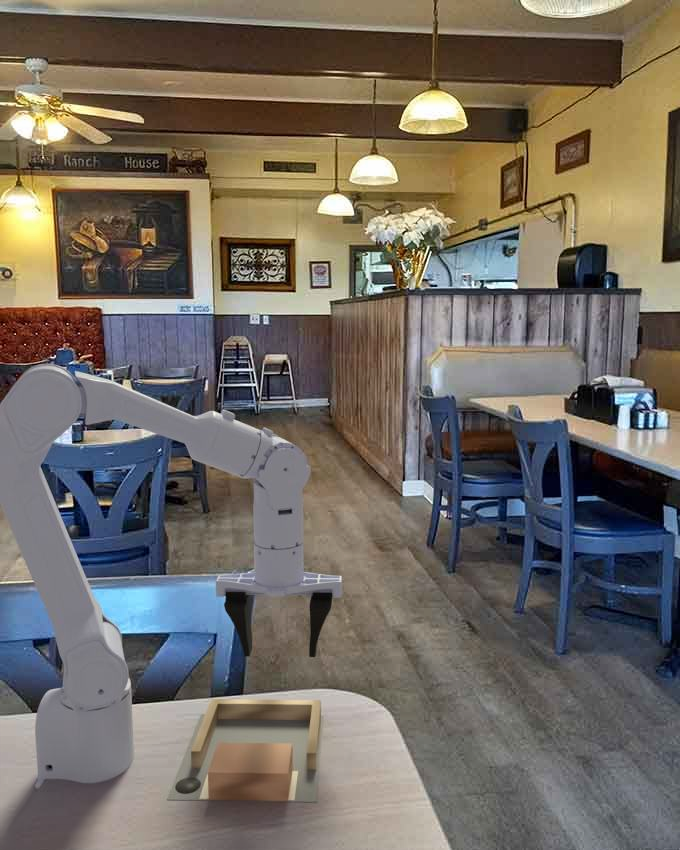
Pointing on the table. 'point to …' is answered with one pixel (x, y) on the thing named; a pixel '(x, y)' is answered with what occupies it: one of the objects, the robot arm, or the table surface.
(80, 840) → the table surface
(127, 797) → the table surface
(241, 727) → the floor board
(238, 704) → the oak cubby
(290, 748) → the terracotta slab
